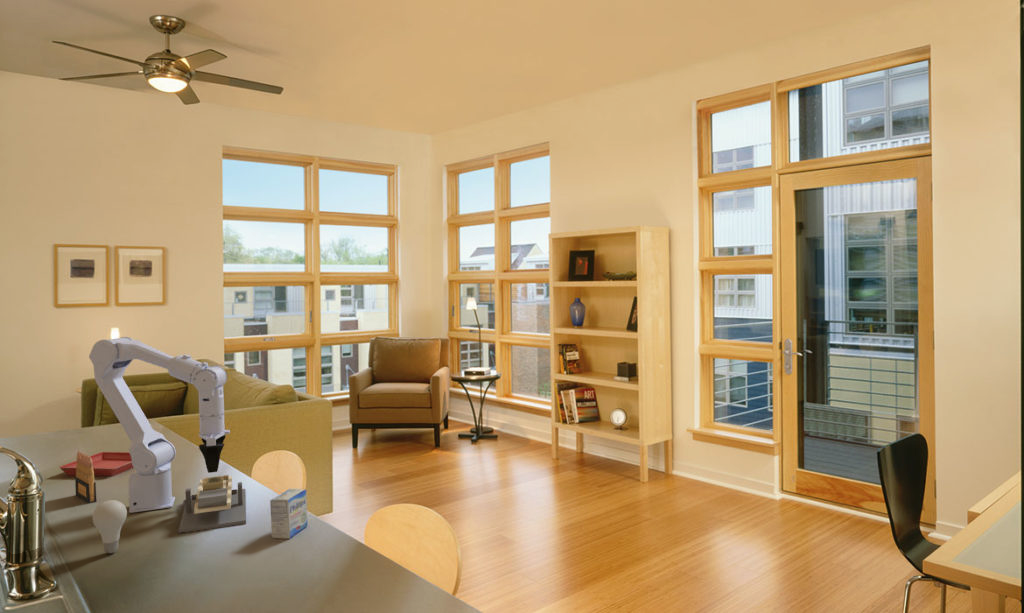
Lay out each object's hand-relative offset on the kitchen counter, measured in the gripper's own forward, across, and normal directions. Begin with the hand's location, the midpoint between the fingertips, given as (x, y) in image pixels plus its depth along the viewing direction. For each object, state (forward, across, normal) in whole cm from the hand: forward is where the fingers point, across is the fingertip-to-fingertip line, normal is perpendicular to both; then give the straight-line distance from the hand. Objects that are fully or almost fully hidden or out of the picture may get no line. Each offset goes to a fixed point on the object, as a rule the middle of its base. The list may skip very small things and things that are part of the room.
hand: (213, 468), depth 164 cm
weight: (+5, -8, 0) cm, 9 cm away
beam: (+5, -5, 0) cm, 7 cm away
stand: (+9, -5, 0) cm, 11 cm away
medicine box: (+10, -28, -16) cm, 34 cm away
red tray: (+10, +52, +32) cm, 62 cm away
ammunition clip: (+10, +21, +32) cm, 39 cm away
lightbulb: (+10, -24, +18) cm, 32 cm away
